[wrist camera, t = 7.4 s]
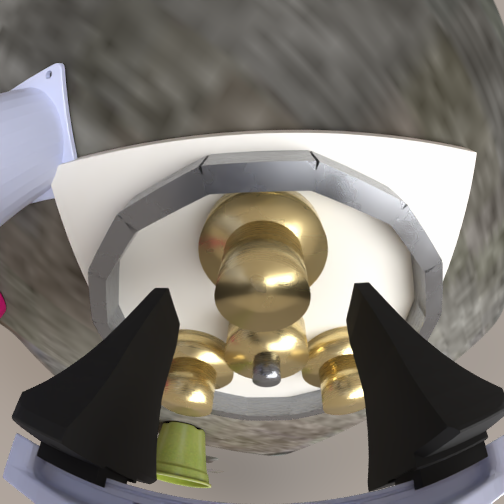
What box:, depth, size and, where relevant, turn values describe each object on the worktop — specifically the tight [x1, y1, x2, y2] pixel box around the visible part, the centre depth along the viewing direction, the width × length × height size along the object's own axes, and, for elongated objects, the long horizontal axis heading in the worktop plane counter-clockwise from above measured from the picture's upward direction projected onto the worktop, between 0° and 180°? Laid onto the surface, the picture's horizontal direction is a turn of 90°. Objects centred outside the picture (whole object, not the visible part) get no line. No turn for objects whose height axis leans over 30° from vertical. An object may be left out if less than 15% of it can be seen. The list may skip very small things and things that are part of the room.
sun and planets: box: [161, 317, 366, 417], centre depth 17 cm, size 17×9×4 cm, turn 93°
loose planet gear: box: [198, 191, 328, 332], centre depth 12 cm, size 6×6×4 cm
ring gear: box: [88, 150, 443, 420], centre depth 17 cm, size 22×22×2 cm
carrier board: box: [51, 130, 476, 397], centre depth 18 cm, size 24×24×1 cm
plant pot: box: [156, 422, 211, 488], centre depth 29 cm, size 9×9×9 cm
